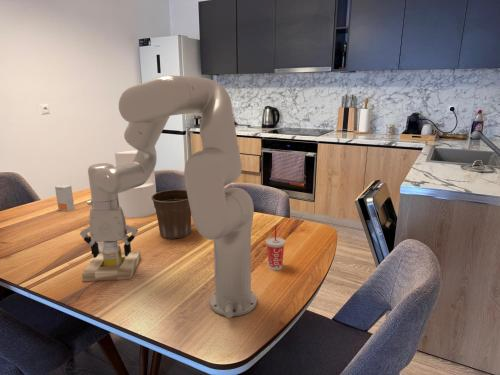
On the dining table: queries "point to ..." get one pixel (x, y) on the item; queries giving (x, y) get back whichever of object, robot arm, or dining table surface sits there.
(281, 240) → the beverage cup
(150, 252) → the dining table surface
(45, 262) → the dining table surface
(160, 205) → the plant pot
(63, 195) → the skincare box
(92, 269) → the socket block
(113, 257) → the supplement bottle
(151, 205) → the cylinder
